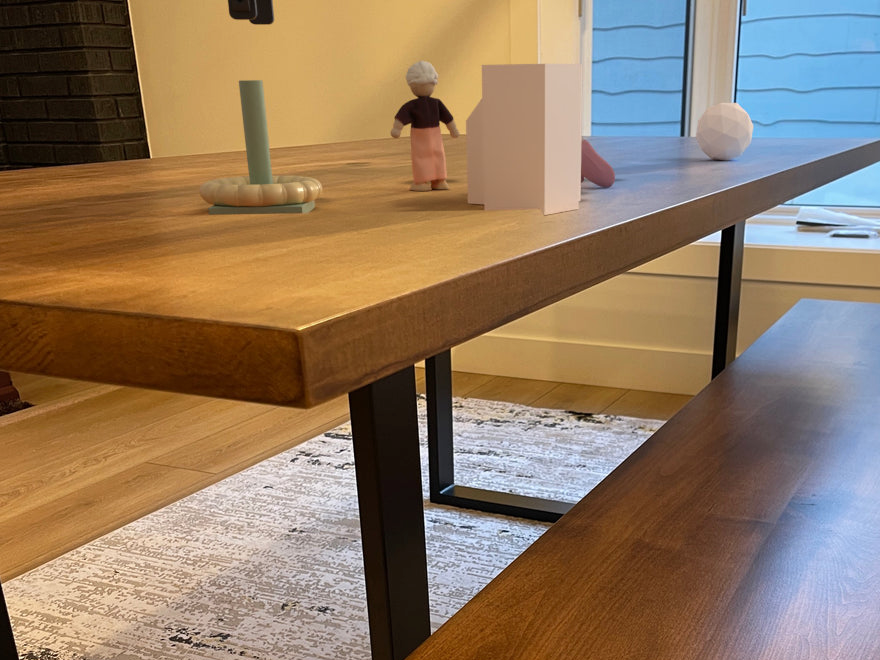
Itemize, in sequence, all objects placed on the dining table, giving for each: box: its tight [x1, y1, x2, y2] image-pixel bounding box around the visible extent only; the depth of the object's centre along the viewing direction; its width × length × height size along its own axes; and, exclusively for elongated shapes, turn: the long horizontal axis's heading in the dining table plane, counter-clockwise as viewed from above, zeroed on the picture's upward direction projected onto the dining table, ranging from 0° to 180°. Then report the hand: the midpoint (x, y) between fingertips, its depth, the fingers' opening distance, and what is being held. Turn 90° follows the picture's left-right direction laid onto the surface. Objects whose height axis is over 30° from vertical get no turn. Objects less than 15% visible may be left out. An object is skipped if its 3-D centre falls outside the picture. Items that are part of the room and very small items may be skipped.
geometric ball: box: [695, 102, 755, 161], centre depth 140 cm, size 8×8×8 cm
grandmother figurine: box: [390, 60, 460, 192], centre depth 105 cm, size 8×4×13 cm, turn 130°
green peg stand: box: [207, 79, 316, 216], centre depth 88 cm, size 8×8×11 cm
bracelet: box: [199, 174, 323, 207], centre depth 90 cm, size 11×11×2 cm
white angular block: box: [465, 63, 584, 216], centre depth 91 cm, size 11×11×12 cm
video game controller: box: [581, 136, 616, 189], centre depth 109 cm, size 10×5×7 cm, turn 27°
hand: (253, 22), depth 88 cm, fingers open, 8 cm apart
